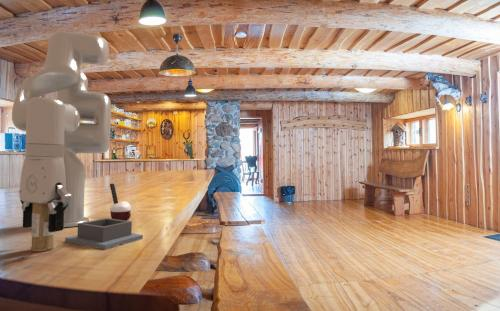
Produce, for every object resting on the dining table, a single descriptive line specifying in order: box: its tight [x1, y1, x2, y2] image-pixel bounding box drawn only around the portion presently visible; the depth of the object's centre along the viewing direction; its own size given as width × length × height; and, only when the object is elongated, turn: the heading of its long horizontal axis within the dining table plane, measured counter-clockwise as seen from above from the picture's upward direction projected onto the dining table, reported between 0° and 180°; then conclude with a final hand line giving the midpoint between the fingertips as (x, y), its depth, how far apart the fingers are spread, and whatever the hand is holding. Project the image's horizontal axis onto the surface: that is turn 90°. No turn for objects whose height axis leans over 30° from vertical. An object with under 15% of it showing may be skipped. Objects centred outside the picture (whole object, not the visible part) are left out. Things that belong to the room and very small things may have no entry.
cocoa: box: [109, 183, 132, 221], centre depth 111 cm, size 10×6×12 cm, turn 37°
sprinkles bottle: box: [30, 199, 55, 253], centre depth 76 cm, size 5×5×14 cm
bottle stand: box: [64, 217, 144, 250], centre depth 86 cm, size 14×12×4 cm
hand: (42, 228), depth 76 cm, fingers open, 8 cm apart
